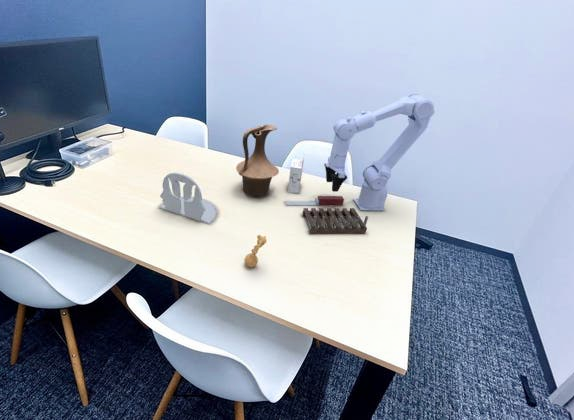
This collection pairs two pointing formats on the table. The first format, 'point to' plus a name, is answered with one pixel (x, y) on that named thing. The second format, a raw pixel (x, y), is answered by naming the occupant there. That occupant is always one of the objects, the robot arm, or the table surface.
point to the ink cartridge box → (295, 175)
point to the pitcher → (257, 164)
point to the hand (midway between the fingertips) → (332, 186)
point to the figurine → (255, 252)
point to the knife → (321, 201)
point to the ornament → (186, 199)
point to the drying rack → (335, 221)
